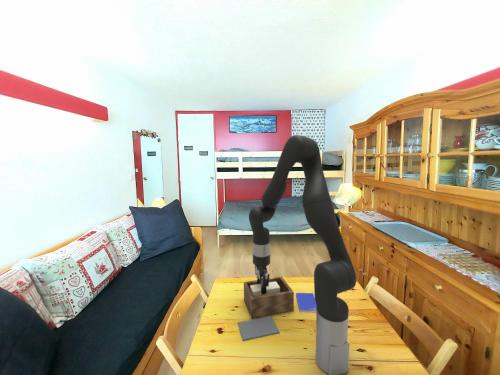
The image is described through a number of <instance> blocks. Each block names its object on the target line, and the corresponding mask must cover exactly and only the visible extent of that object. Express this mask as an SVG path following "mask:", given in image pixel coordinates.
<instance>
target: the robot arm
mask: <svg viewBox="0 0 500 375" xmlns="http://www.w3.org/2000/svg"><path fill="white" fill-rule="evenodd" d="M296 164H300V165H301V167H302V169H303V173H304V174H303V175H304V187H303V191H302V199H301V200H302V201H301V202H302V203H301V204H302V207H303V211H304V216H305V220H306V222H307V224H308V225H309V226H310V228H311V229H312V230H313V232H315V234H317V236H318V237H319V238H320V239H321V240H322V241H323V243H324V245H325V247H326V250H327V251H328V256H329V260H327V261H324V262H323V261H322V262H320V263H317V264H316V265H315V267H314V272H313V284H314V285H313V286H314V293H313V294H314V297H315V301H316V305H317V313H316V314H315V315H316V320H315V322H316V323H315V363H316V365H317V366H318V367H319V369H320V370H321V371H323V372H324V373H326V374H328V375H343V374H348V373H349V359H350V343H349V341H348V337H349V336H348V334H349V313H350V311H349V310H350V309H349V305H348V304H347V302H346V301H345V300H344V299H342V298H341V297H339V296H338V294H342V293H344V292H345V293H346V292H348V291H351V290H352V289H354V288H355V286H356V284H357V274H356V270H355V267H354V265H353V262H352V259H351V257H350V254H349V252H348V249H347V247H346V244H345V242H344V239H343V236H342V233H341V229H340V226H339V223H338V220H337V216H336V211H335V207H334V204H333V201H332V197H331V195H330V192H329V188H328V183H327V180H326V178H325V174H324V168H323V164H322V157H321V150H320V146H319V145H318V142H317V141H316V140H314V138H311V137H307V136H304V135H299V134H294V135H291V136H290V137H289V138H288V139H287V140H286V142H285V144H284V145H283V148H282V151H281V153H280V156H279V159H278V161H277V164H276V167H275V169H274V173H273V175H272V177H271V180H270V181H269V183H268V185H267V187H266V188H265V190H264V192H263V194H262V195H261V199H260V201H261V203H262V204H261V205H259V206H255V207H253V208H251V209H249V210H250V211H249V213H248V221H249V224H250V228H251V232H252V264H253V265H254V270H255V271H254V272H255V275H256V280H257V284H261V294H266V293H267V291H266V287H267V286H269V278H270V274H269V273H268V266H269V265H270V264H271V243H270V239H271V238H270V235H271V234H270V229H268V228H267V227H264V223H266V222H269V221H270V220H272V218H273V217H274V215H275V213H276V210H277V207H278V204H279V203H280V201H281V200H282V198H283V197H284V195H285V193H286V190H287V186H288V176H289V174H290V172H291V170H292V168H293V167H294V166H295V165H296Z"/></svg>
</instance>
